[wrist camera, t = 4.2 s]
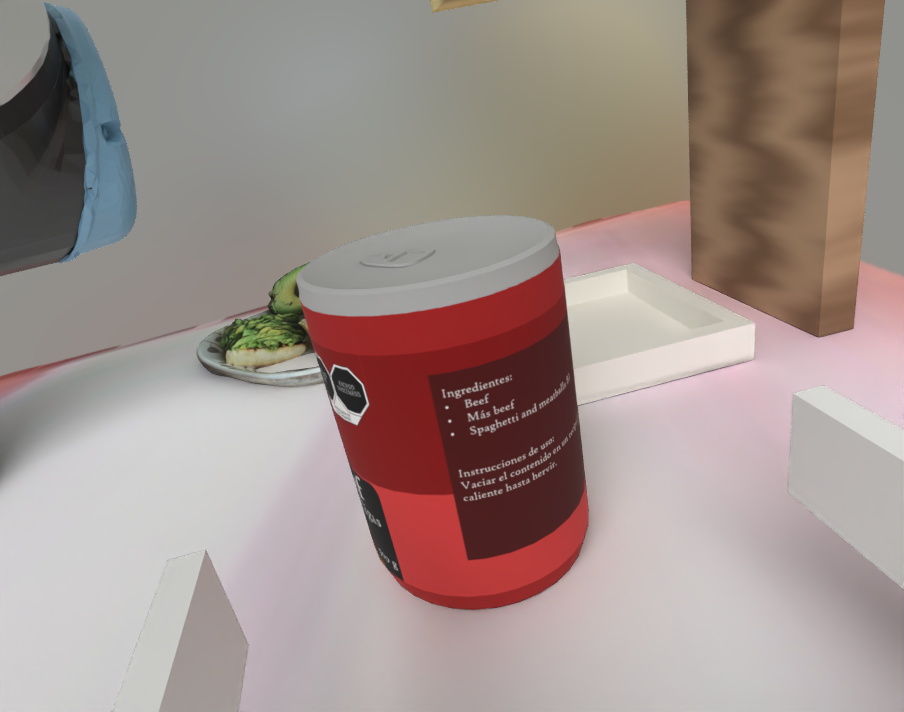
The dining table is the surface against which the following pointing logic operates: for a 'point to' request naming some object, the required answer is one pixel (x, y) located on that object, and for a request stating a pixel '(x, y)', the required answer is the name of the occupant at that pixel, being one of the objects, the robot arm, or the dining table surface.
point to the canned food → (456, 402)
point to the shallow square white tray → (646, 332)
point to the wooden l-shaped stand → (779, 150)
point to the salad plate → (264, 341)
